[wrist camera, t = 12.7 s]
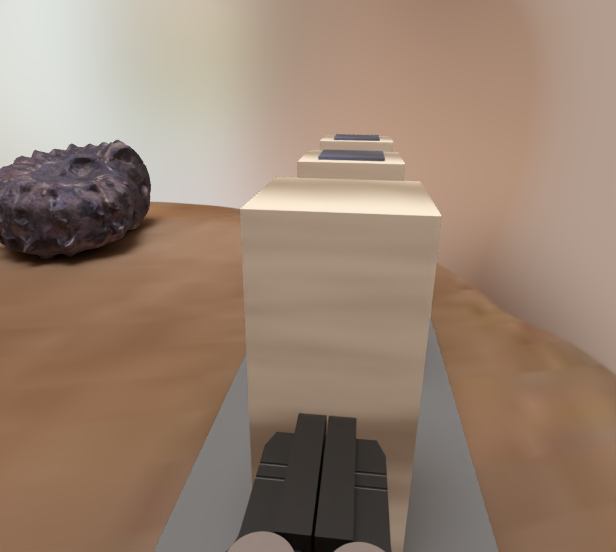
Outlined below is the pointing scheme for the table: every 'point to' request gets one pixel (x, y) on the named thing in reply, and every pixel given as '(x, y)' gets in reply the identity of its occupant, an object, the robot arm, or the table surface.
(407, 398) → the plain block
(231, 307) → the table surface
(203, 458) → the gray mat
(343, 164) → the labelled block
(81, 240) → the dark grey rough lump
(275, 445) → the robot arm
